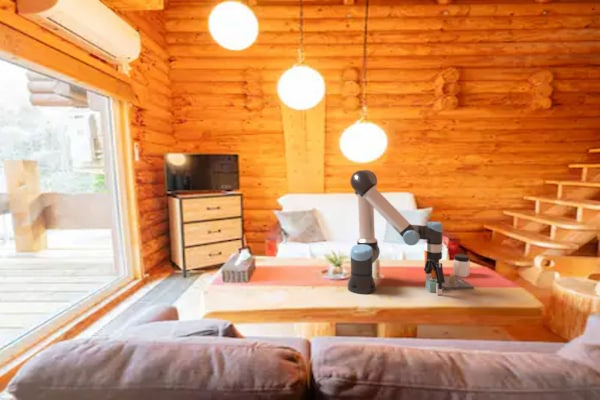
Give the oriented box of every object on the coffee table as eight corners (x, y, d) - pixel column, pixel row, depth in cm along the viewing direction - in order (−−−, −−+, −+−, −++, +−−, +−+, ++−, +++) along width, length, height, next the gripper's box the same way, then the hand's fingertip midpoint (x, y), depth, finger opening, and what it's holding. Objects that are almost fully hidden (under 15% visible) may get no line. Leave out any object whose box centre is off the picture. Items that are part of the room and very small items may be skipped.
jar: (465, 278, 193) (466, 258, 191) (451, 275, 198) (452, 256, 197) (470, 274, 199) (471, 255, 197) (457, 271, 205) (457, 253, 203)
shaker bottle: (436, 278, 193) (437, 245, 191) (421, 275, 198) (422, 243, 196) (440, 274, 200) (441, 242, 198) (425, 271, 206) (426, 240, 204)
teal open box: (430, 292, 172) (430, 282, 172) (425, 288, 178) (425, 278, 178) (441, 291, 172) (441, 282, 172) (436, 287, 178) (436, 278, 178)
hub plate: (444, 289, 175) (444, 279, 175) (431, 279, 191) (432, 270, 191) (473, 289, 176) (474, 279, 175) (458, 279, 192) (459, 269, 191)
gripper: (452, 257, 161) (451, 298, 163) (431, 245, 186) (430, 281, 188) (437, 257, 161) (436, 299, 163) (418, 245, 185) (417, 281, 188)
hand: (433, 289), depth 175 cm, fingers open, 13 cm apart
